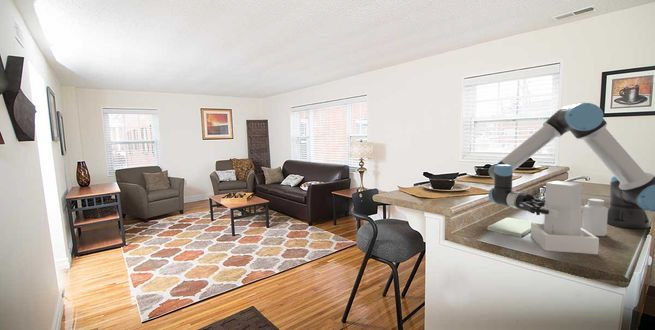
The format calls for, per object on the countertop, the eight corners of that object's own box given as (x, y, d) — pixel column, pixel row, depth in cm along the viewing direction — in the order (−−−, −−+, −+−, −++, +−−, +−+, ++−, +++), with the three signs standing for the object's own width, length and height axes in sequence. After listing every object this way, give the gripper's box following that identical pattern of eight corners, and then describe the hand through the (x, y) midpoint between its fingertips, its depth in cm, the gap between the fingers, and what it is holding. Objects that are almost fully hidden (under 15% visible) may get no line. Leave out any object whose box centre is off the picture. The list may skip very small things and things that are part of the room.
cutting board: (507, 220, 152) (507, 217, 152) (539, 226, 141) (539, 222, 141) (487, 229, 139) (487, 226, 139) (521, 237, 128) (521, 233, 127)
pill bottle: (611, 237, 124) (613, 201, 122) (589, 236, 125) (591, 201, 124) (598, 230, 132) (600, 197, 130) (577, 230, 133) (579, 197, 132)
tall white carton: (543, 243, 120) (545, 182, 117) (554, 239, 124) (556, 180, 122) (569, 250, 112) (572, 185, 110) (580, 245, 116) (583, 182, 114)
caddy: (576, 238, 123) (577, 224, 123) (598, 254, 108) (598, 238, 107) (530, 236, 128) (531, 222, 128) (545, 250, 113) (545, 235, 112)
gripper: (541, 206, 138) (593, 217, 118) (499, 212, 131) (546, 225, 111) (541, 190, 137) (594, 199, 117) (499, 195, 130) (547, 206, 110)
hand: (571, 212), depth 114 cm, fingers open, 13 cm apart
